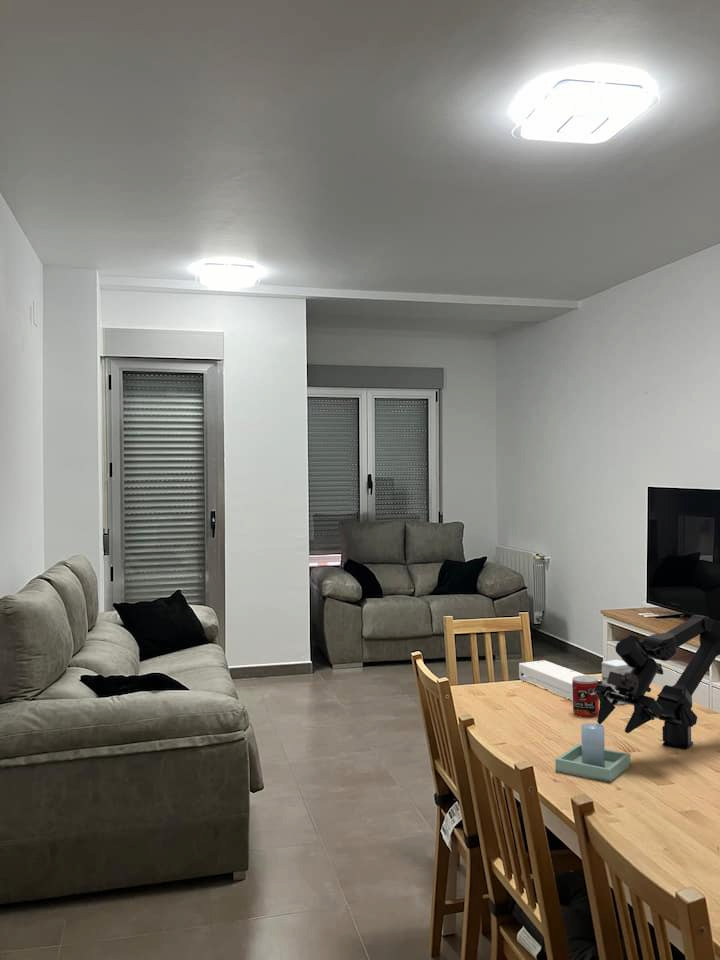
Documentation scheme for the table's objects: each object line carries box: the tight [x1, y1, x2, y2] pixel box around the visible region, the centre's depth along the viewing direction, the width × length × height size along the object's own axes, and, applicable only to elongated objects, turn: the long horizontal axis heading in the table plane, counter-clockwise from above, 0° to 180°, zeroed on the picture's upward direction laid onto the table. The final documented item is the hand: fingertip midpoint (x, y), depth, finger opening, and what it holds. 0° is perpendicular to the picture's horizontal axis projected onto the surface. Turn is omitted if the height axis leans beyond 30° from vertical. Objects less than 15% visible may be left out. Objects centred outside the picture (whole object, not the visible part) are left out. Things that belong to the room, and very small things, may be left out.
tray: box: [554, 743, 631, 783], centre depth 211 cm, size 14×14×3 cm
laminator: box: [518, 659, 602, 702], centre depth 289 cm, size 34×12×6 cm, turn 21°
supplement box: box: [601, 659, 632, 706], centre depth 271 cm, size 7×7×13 cm
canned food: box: [572, 675, 600, 718], centre depth 258 cm, size 8×8×11 cm
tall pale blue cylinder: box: [580, 722, 606, 768], centre depth 211 cm, size 6×6×10 cm
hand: (612, 727), depth 215 cm, fingers open, 9 cm apart
